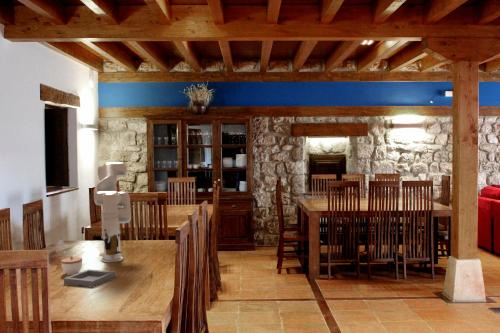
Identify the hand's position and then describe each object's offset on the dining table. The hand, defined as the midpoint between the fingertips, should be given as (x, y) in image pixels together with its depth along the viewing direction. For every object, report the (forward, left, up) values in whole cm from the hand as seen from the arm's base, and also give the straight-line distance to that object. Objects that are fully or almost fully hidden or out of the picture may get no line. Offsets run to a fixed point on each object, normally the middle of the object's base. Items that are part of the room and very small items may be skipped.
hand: (111, 247), depth 260 cm
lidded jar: (-20, -10, -13) cm, 26 cm away
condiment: (0, +1, -3) cm, 4 cm away
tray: (0, -19, -13) cm, 23 cm away
